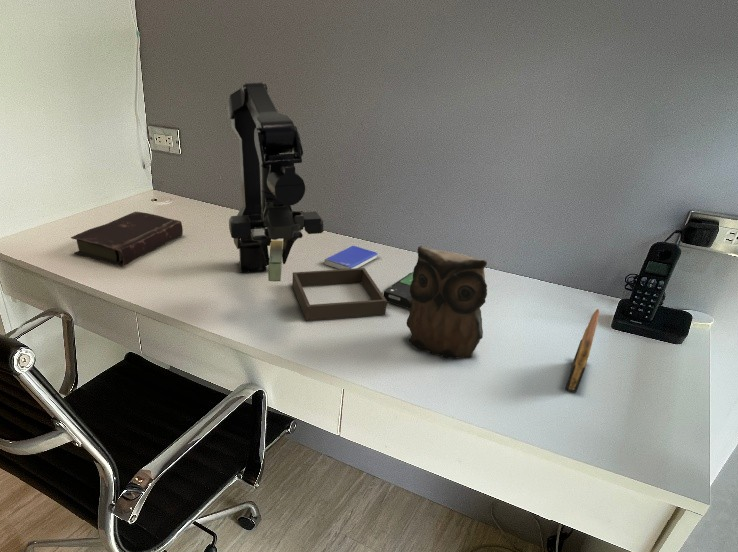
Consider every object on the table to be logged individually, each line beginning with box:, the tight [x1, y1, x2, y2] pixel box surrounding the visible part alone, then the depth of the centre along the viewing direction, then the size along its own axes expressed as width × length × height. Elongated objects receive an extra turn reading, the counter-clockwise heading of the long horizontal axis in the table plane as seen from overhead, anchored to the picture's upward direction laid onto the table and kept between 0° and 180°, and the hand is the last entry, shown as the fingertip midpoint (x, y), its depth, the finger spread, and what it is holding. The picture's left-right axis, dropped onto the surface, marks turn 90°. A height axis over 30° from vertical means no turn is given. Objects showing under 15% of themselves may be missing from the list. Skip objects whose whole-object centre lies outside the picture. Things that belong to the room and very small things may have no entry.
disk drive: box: [383, 271, 413, 310], centre depth 131 cm, size 10×3×15 cm
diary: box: [70, 211, 184, 267], centre depth 156 cm, size 19×25×5 cm
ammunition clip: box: [564, 308, 600, 394], centre depth 101 cm, size 11×2×12 cm, turn 149°
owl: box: [406, 245, 488, 359], centre depth 108 cm, size 13×13×20 cm
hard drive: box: [323, 245, 378, 270], centre depth 148 cm, size 2×8×12 cm
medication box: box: [267, 240, 283, 282], centre depth 120 cm, size 12×3×4 cm, turn 178°
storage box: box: [291, 267, 388, 322], centre depth 129 cm, size 18×18×4 cm
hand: (275, 264), depth 121 cm, fingers closed on medication box, 3 cm apart
